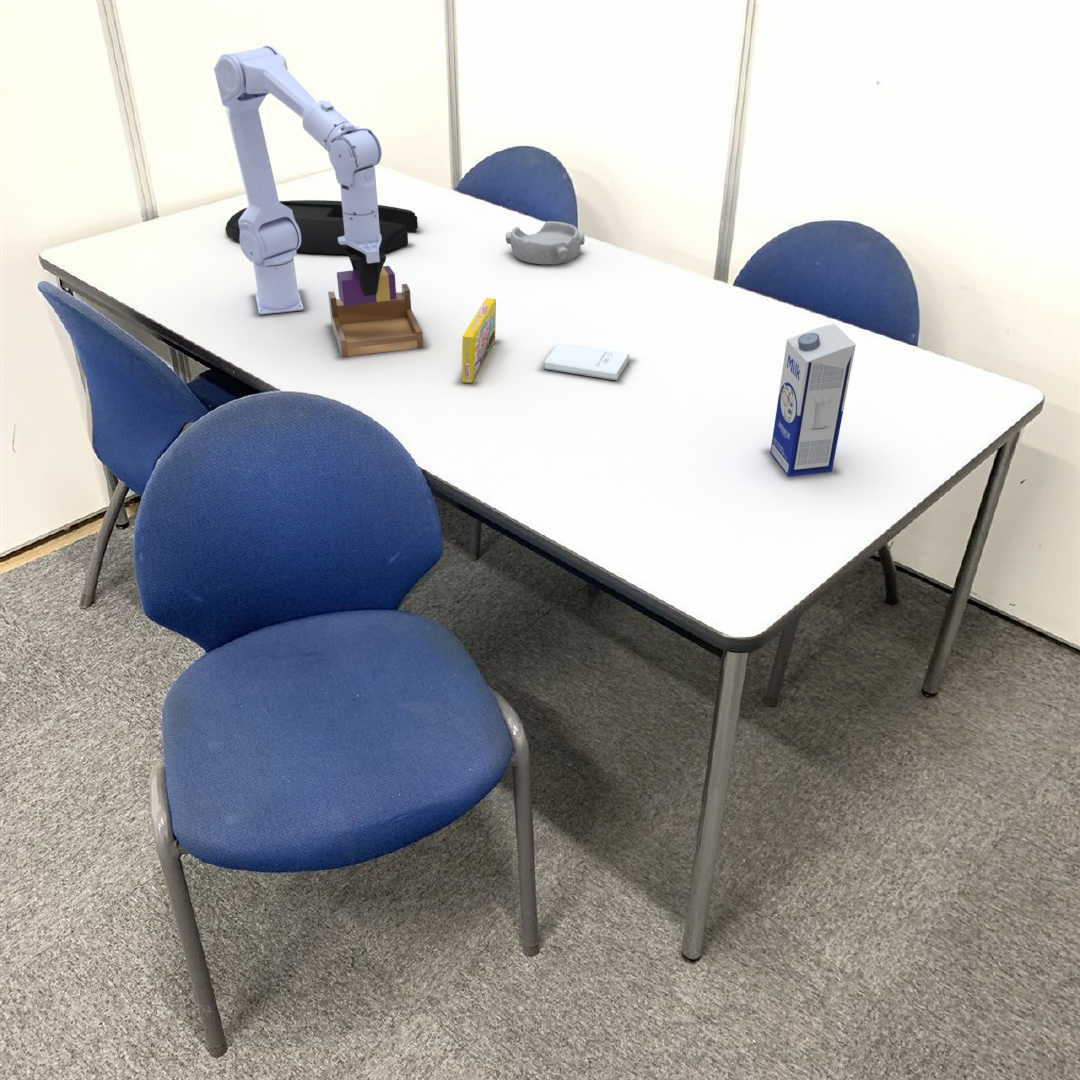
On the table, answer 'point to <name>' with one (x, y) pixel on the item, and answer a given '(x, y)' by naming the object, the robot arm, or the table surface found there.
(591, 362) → the hard drive
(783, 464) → the milk carton
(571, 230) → the dish
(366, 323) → the tray
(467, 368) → the candy box
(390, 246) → the docking station
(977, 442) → the table surface
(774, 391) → the table surface
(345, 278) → the chocolate bar
